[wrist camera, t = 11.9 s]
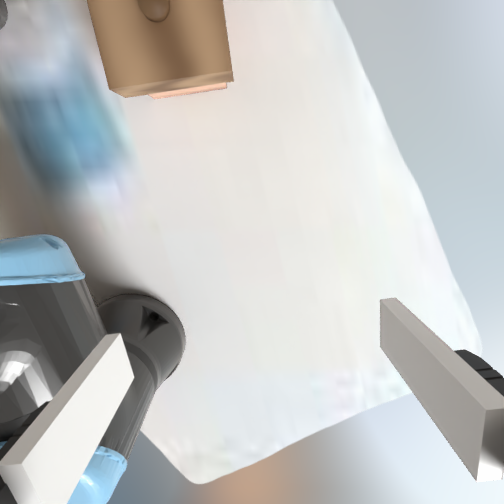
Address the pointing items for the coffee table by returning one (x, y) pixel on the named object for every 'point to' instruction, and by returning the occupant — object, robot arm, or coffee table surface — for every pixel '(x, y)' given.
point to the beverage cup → (3, 13)
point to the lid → (161, 44)
